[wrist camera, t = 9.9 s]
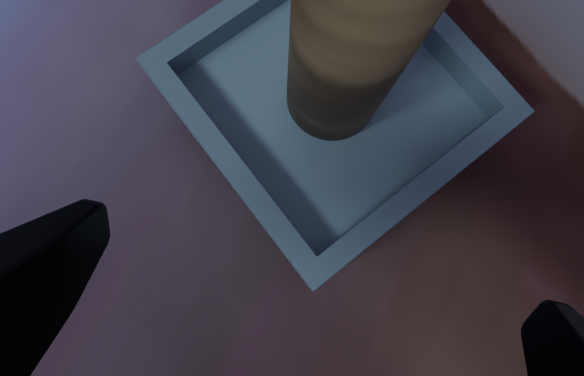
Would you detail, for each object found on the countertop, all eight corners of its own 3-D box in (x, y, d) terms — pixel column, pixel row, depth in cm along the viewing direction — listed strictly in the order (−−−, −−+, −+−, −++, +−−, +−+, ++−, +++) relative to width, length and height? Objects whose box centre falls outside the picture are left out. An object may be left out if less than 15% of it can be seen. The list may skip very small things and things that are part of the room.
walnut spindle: (384, 132, 19) (592, -109, 6) (295, 147, 18) (329, -72, 6) (365, 50, 19) (516, -312, 7) (279, 63, 19) (277, -288, 7)
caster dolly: (486, 138, 22) (535, 111, 17) (306, 283, 20) (313, 291, 16) (341, -26, 23) (355, -87, 19) (163, 96, 21) (135, 58, 17)
